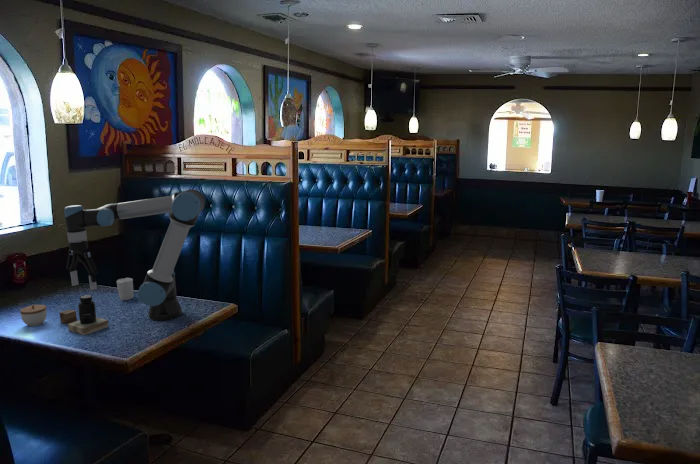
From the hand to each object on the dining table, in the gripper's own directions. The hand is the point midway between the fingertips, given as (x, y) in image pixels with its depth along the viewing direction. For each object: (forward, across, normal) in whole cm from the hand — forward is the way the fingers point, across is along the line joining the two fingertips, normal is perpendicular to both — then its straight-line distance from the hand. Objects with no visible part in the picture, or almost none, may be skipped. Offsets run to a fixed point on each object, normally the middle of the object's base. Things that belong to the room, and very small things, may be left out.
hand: (84, 287), depth 250 cm
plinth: (+20, 0, 0) cm, 20 cm away
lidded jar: (+19, +28, +9) cm, 36 cm away
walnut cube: (+19, +18, -1) cm, 26 cm away
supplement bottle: (+16, 0, 0) cm, 16 cm away
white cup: (+20, +24, -37) cm, 48 cm away
